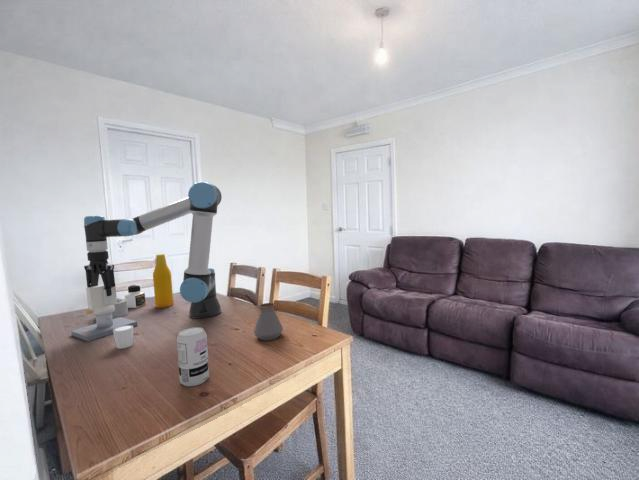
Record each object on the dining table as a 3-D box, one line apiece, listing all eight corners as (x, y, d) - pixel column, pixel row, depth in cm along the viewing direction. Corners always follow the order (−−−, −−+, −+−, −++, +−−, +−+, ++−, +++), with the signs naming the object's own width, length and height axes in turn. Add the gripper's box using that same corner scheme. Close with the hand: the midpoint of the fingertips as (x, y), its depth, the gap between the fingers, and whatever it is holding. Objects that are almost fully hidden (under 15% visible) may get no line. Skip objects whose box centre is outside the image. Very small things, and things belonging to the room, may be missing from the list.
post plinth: (137, 325, 145) (135, 308, 145) (87, 341, 128) (85, 322, 128) (120, 320, 153) (119, 304, 153) (71, 335, 136) (69, 317, 136)
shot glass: (139, 342, 125) (137, 325, 124) (123, 350, 118) (121, 332, 118) (126, 341, 127) (124, 324, 126) (110, 348, 121) (108, 330, 120)
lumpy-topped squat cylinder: (97, 316, 163) (95, 300, 162) (126, 310, 171) (125, 295, 170) (99, 321, 155) (97, 304, 154) (129, 315, 163) (128, 298, 162)
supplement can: (185, 374, 98) (181, 327, 97) (212, 372, 98) (209, 325, 97) (175, 388, 90) (171, 337, 88) (205, 386, 90) (201, 335, 89)
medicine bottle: (136, 308, 175) (134, 286, 174) (125, 307, 176) (123, 286, 175) (145, 304, 182) (144, 284, 181) (135, 304, 183) (133, 284, 182)
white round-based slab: (111, 307, 147) (108, 282, 146) (120, 310, 142) (117, 284, 141) (82, 315, 137) (79, 288, 136) (91, 318, 132) (88, 289, 131)
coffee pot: (289, 335, 126) (287, 298, 124) (265, 345, 118) (263, 305, 116) (258, 324, 141) (256, 291, 139) (235, 331, 132) (233, 296, 131)
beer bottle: (176, 302, 183) (172, 253, 180) (169, 307, 173) (164, 255, 171) (160, 303, 182) (156, 253, 180) (152, 308, 173) (147, 256, 171)
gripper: (72, 252, 136) (78, 305, 138) (107, 251, 132) (112, 305, 134) (88, 250, 143) (93, 300, 145) (122, 249, 140) (126, 301, 142)
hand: (102, 302), depth 140 cm, fingers closed on white round-based slab, 5 cm apart
